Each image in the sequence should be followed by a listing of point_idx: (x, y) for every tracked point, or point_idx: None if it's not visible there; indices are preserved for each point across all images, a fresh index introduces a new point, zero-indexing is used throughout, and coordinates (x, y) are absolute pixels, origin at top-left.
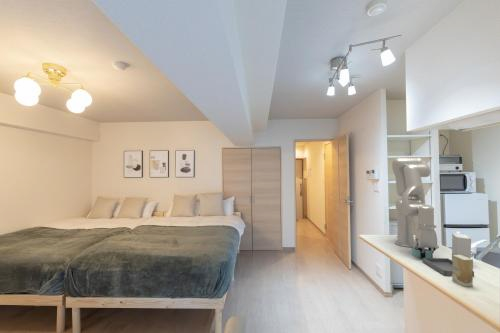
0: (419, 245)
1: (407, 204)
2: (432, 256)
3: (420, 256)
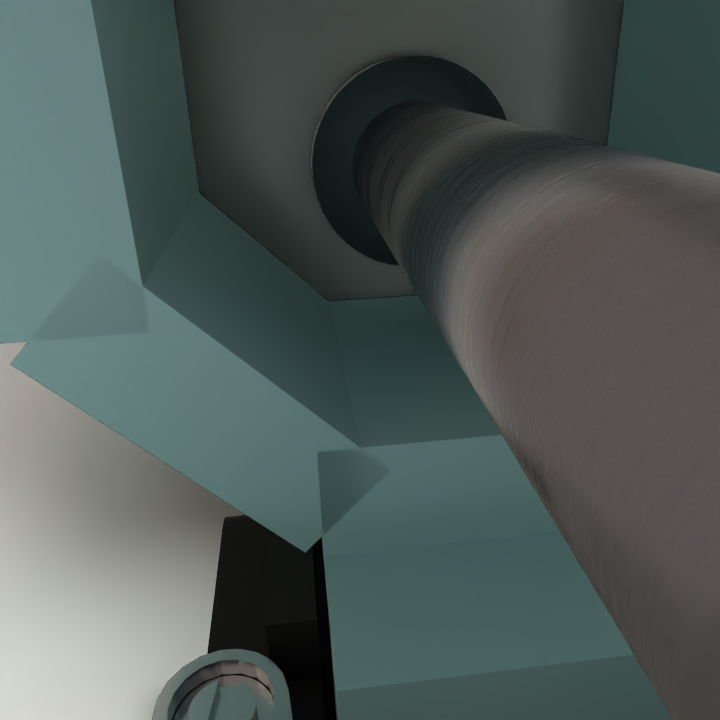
0: None
1: None
2: None
3: (226, 518)
